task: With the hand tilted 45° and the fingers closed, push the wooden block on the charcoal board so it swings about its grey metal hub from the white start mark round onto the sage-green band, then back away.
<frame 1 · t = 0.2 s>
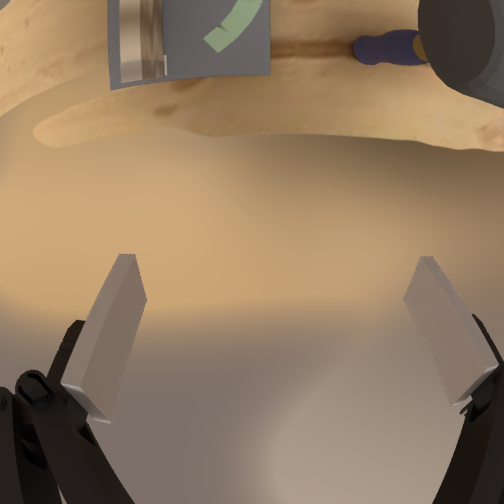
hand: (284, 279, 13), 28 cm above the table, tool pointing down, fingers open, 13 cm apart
rubber mallet: (362, 50, 29), on the table
wooden block: (143, 15, 21), point 7 cm above the table, hinge at 0.0°
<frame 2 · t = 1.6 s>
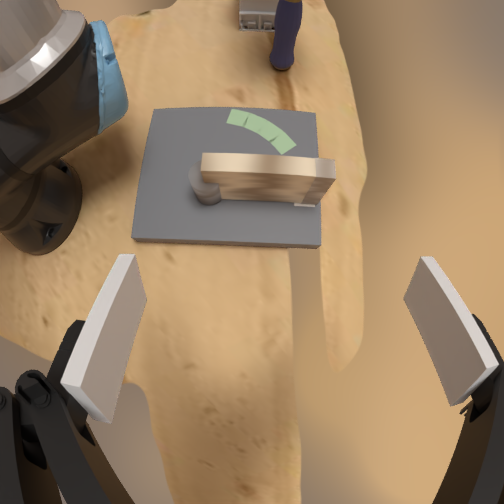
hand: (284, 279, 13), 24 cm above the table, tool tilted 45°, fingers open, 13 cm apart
rubber mallet: (280, 66, 43), on the table
circuit breaker: (259, 13, 45), on the table
wooden block: (258, 179, 32), point 7 cm above the table, hinge at 0.0°
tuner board: (229, 174, 39), on the table
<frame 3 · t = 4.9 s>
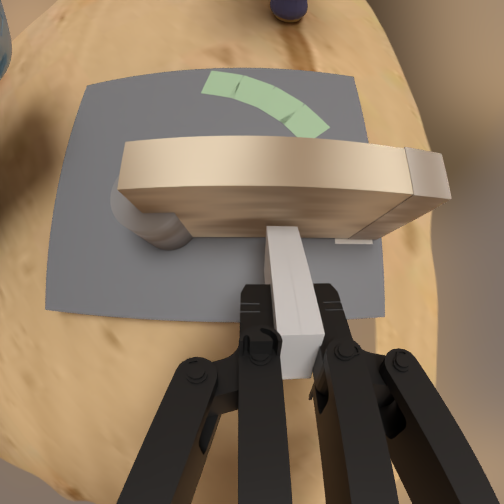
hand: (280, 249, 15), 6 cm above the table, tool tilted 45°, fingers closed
rubber mallet: (286, 18, 25), on the table
wooden block: (266, 198, 14), point 7 cm above the table, hinge at 0.0°, touching gripper
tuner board: (209, 185, 21), on the table
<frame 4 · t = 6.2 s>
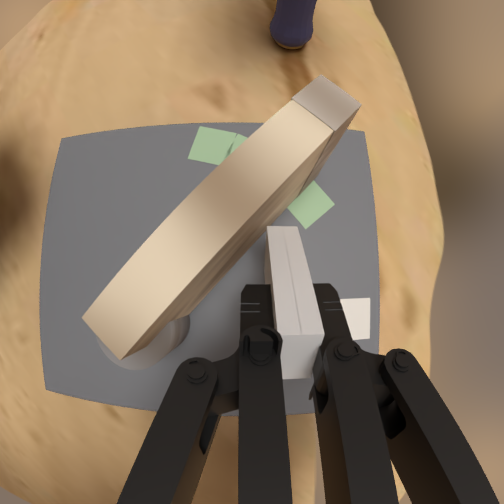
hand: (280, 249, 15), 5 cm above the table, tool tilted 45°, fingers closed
rubber mallet: (288, 43, 23), on the table
wooden block: (218, 238, 13), point 7 cm above the table, hinge at 48.1°, touching gripper
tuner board: (200, 266, 20), on the table
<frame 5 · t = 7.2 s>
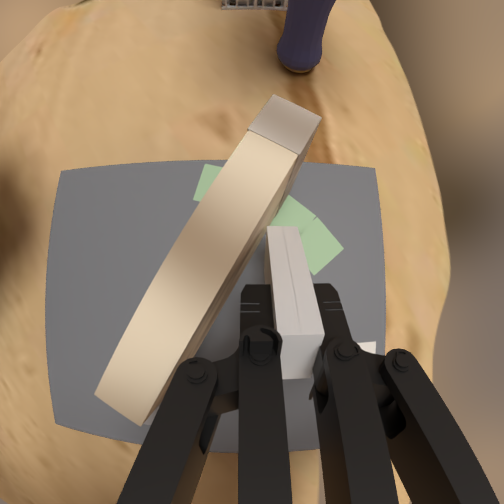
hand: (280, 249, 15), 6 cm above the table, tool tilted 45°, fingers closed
rubber mallet: (296, 65, 24), on the table
wooden block: (206, 282, 13), point 7 cm above the table, hinge at 60.6°, touching gripper
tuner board: (207, 308, 20), on the table
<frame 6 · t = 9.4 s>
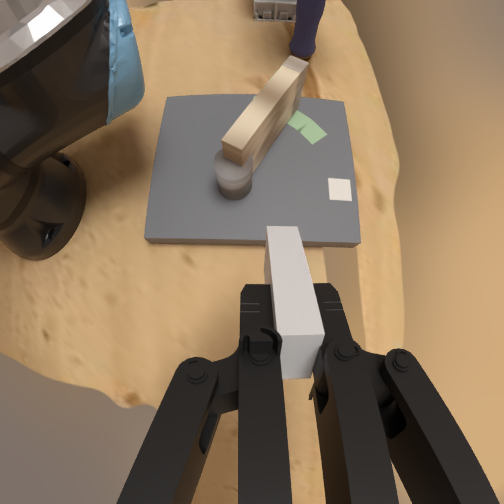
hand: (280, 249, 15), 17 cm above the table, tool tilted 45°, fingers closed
rubber mallet: (300, 55, 39), on the table
circuit breaker: (272, 4, 42), on the table
wooden block: (262, 125, 28), point 7 cm above the table, hinge at 60.8°
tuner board: (254, 167, 35), on the table
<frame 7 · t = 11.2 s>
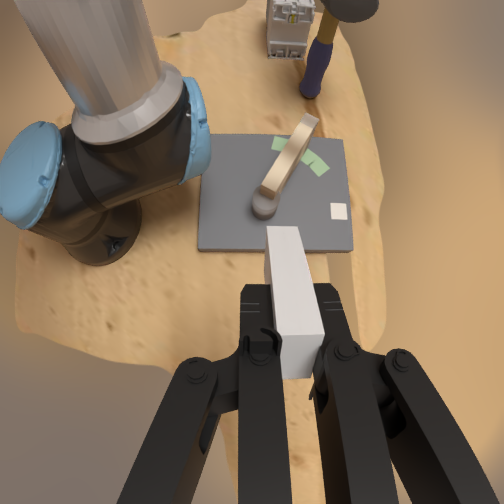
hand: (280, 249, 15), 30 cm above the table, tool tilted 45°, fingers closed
rubber mallet: (308, 94, 51), on the table
circuit breaker: (283, 40, 54), on the table
wooden block: (285, 167, 41), point 7 cm above the table, hinge at 60.8°
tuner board: (275, 193, 47), on the table
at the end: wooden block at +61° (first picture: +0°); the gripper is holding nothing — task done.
